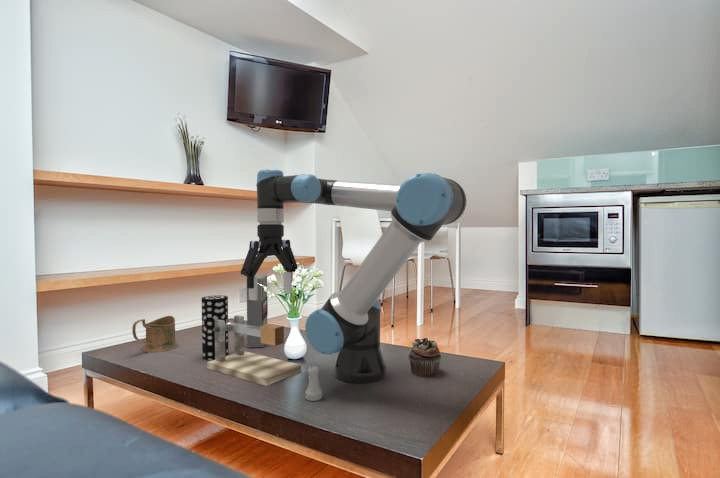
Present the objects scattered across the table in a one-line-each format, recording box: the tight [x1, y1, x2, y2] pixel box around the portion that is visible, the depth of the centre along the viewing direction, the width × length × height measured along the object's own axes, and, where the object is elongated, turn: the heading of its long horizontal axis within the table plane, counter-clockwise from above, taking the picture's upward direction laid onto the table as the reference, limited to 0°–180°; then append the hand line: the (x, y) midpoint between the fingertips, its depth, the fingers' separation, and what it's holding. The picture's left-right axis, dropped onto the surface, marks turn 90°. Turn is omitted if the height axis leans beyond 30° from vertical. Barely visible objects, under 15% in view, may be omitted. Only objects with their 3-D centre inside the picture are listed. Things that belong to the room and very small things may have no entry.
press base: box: [206, 315, 302, 387], centre depth 128 cm, size 26×14×14 cm, turn 56°
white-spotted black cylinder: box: [201, 294, 230, 361], centre depth 142 cm, size 8×8×20 cm
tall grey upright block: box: [246, 273, 269, 349], centre depth 159 cm, size 14×6×25 cm, turn 4°
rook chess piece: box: [304, 364, 323, 402], centre depth 107 cm, size 4×4×8 cm
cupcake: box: [408, 337, 442, 378], centre depth 126 cm, size 10×10×10 cm
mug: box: [131, 315, 179, 353], centre depth 150 cm, size 12×18×12 cm, turn 162°
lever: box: [225, 321, 285, 347], centre depth 128 cm, size 24×4×5 cm, turn 56°
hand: (271, 296), depth 123 cm, fingers open, 13 cm apart
